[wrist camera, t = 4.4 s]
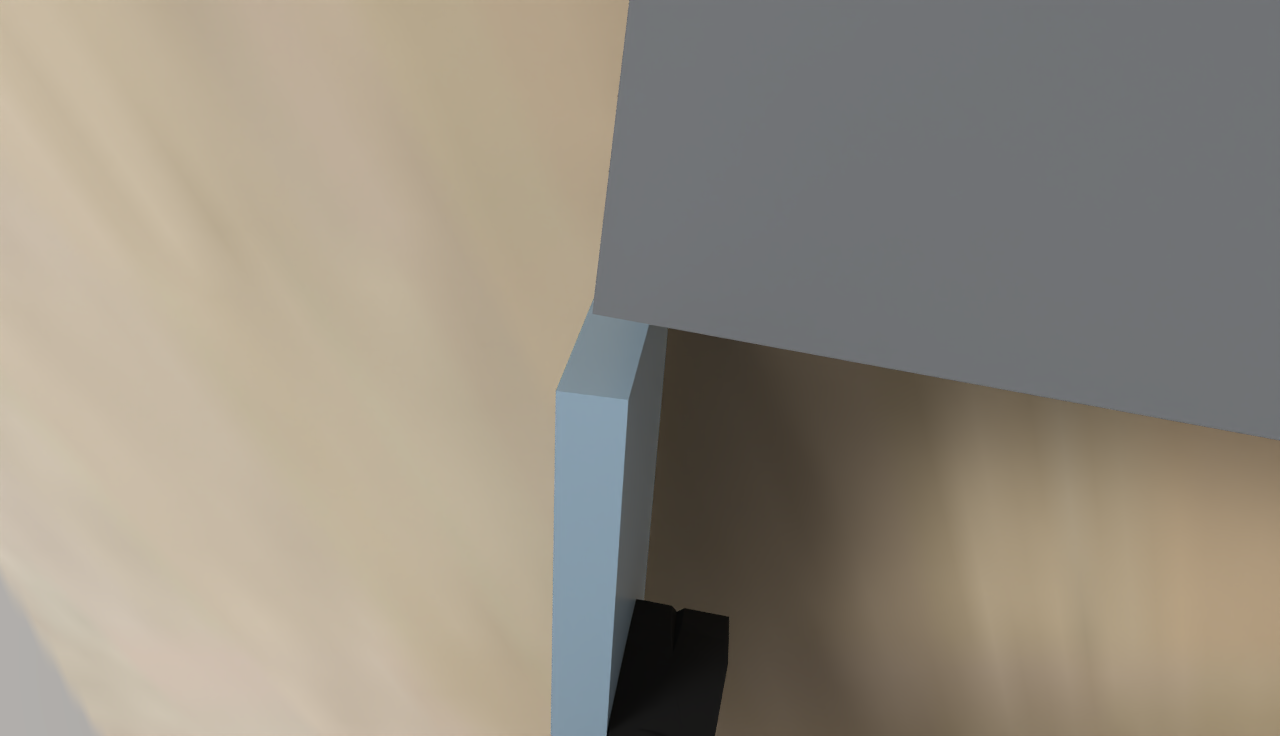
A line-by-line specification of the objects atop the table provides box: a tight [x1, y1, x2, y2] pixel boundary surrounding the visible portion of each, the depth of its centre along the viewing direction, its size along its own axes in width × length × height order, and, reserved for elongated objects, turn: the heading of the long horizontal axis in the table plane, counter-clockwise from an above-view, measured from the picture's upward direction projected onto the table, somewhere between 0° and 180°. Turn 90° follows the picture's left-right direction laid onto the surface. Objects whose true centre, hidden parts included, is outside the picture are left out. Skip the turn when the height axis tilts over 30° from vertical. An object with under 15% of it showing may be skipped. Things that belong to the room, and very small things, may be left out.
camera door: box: [550, 299, 668, 736], centre depth 11 cm, size 9×1×4 cm, turn 177°
